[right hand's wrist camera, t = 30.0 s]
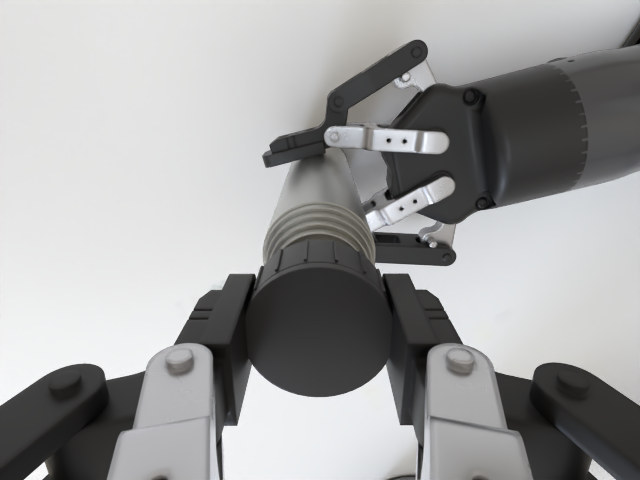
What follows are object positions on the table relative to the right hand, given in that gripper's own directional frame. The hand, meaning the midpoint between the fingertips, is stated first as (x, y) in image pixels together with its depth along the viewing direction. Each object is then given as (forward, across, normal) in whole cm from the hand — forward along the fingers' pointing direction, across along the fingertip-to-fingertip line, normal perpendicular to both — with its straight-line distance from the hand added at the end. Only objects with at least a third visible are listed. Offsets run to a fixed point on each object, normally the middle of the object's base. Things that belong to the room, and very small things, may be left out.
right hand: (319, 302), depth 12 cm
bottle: (+21, 0, 0) cm, 21 cm away
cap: (-2, 0, 0) cm, 2 cm away
